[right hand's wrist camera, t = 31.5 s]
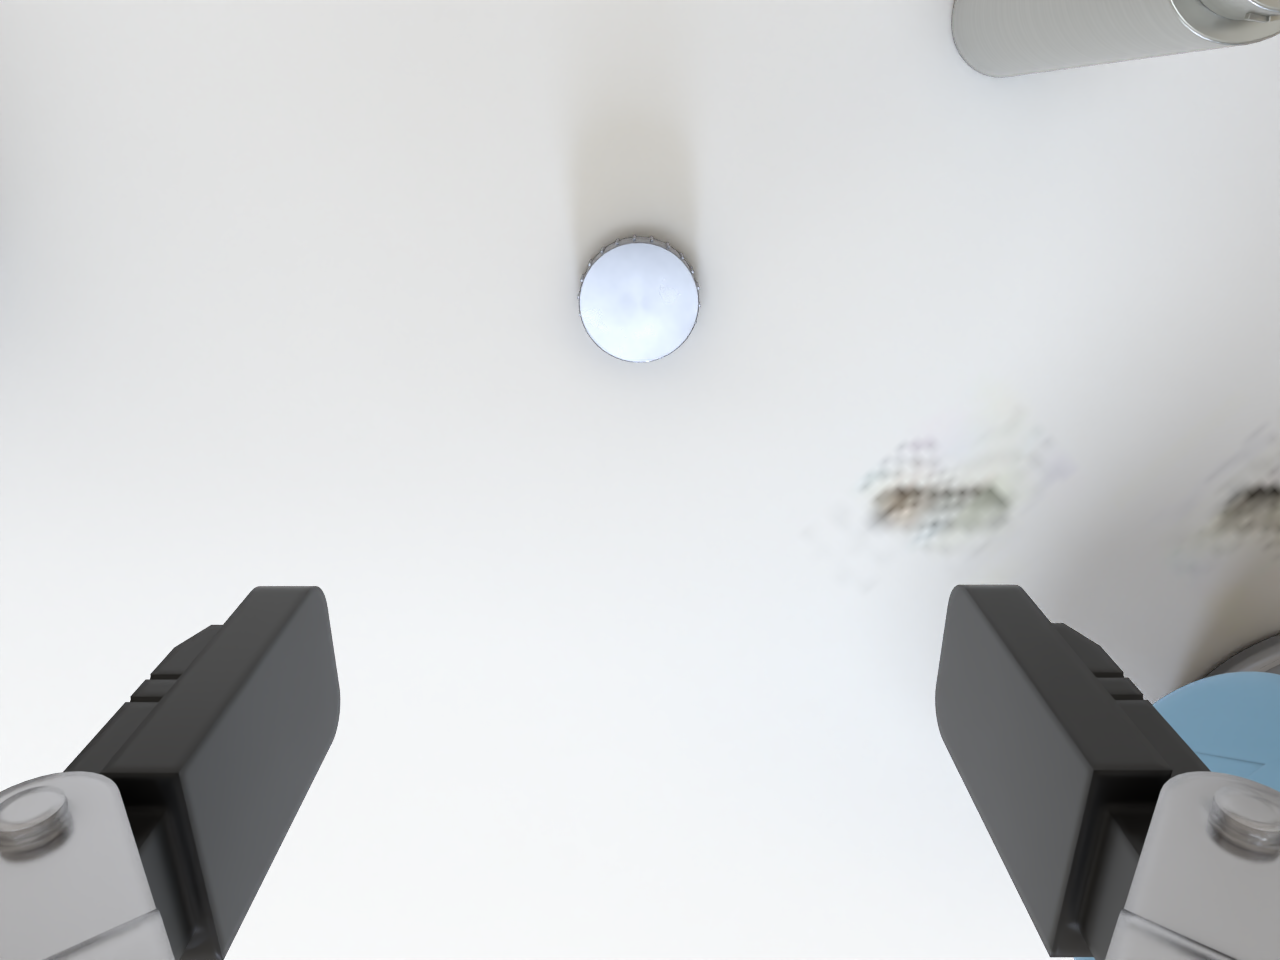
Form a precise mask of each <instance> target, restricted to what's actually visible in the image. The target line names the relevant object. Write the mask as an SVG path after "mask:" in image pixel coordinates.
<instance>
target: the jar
mask: <svg viewBox="0 0 1280 960" xmlns="http://www.w3.org/2000/svg"><path fill="white" fill-rule="evenodd" d="M952 33H953V38H954V42H955V44H956V47H957V49H958V51H959V53H960V55H961V56H962V58H963V59H964V60H965V62H966V63H967V64H968V65H969V66H971V67H972V68H973V69H974V70H976V71H978V72H980V73H982V74H984V75H987V76H992V77H1011V76H1019V75H1026V74H1034V73H1041V72H1048V71H1056V70H1063V69H1071V68H1078V67H1085V66H1093V65H1100V64H1107V63H1115V62H1122V61H1130V60H1137V59H1144V58H1152V57H1159V56H1167V55H1174V54H1181V53H1189V52H1196V51H1204V50H1211V49H1218V48H1226V47H1233V46H1241V45H1247V44H1252V43H1257V42H1260V41H1263V40H1266V39H1269V38H1271V37H1273V36H1276V35H1278V34H1280V0H955V4H954V7H953V13H952Z"/></svg>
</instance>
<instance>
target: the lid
mask: <svg viewBox="0 0 1280 960" xmlns="http://www.w3.org/2000/svg"><path fill="white" fill-rule="evenodd" d="M588 266H589V267H588V269H587V271H586V273H585V275H584V274H583V275H582V278H581V282H582V285H581V288H580V291H579V294H578V298H577V299H579V311H580V312H579V316H581V320H582V322H583V325H584V327H585V331H586V332H587V333H588V335H589V336H590V338H591V339H592V340H593V341H594V343H595V344H596V345H597V346H598V347H600V348H601V349H602V350H603V351H605V352H606V353H608V354H609V355H611V356H613V357H615V358H618V359H621V360H624V361H629V362H649V361H654V360H657V359H660V358H663V357H665V356H667V355H669V354H670V353H672V352H674V351H675V350H676V349H677V348H679V347H680V346H681V345H682V344H683V343H684V341H685V340H686V339H687V338H688V336H689V335H690V333H691V331H692V329H693V328H694V325H695V324H696V322H697V321H696V320H697V316H698V311H699V307H700V302H699V294H698V290H700V289H699V285H698V283H697V282H695V279H694V276H693V273H694V271H693V268H692V266H690V267H689V265H688V264H687V262H686V261H685V259H684V257H683V254H682V253H681V252H680V253H678V252H677V251H676V250H675V249H674V248H672V247H671V246H670V245H669V243H668V242H666V243H664V242H662V241H659V240H656V239H653V236H650V238H648V237H636V235H633V237H631V238H626V239H622V240H619V239H616V242H614V243H612V244H610V245H609V246H607V247H606V248H604V247H602V248H601V251H600V253H599V254H598V255H597V256H596V257H595V258H594V259H593V260H592V259H591V260H590V262H589V264H588Z"/></svg>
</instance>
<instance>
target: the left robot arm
mask: <svg viewBox="0 0 1280 960" xmlns="http://www.w3.org/2000/svg"><path fill="white" fill-rule="evenodd" d="M1153 706H1154V707H1155V709H1156V710H1157V711H1158V712H1159V713H1160V714H1161V715H1162V717H1163V718H1164V719H1165V720H1166V721H1167V722H1168V723H1169V724H1170V726H1171V727H1172V728H1173V729H1174V730H1175V731H1176V732H1177V733H1178V735H1179V736H1180V737H1181V738H1182V739H1183V740H1184V741H1185V742H1186V744H1187V745H1188V746H1189V747H1190V748H1191V749H1192V750H1193V752H1194V753H1195V754H1196V755H1197V756H1198V757H1199V758H1200V759H1201V761H1202V762H1203V763H1204V764H1205V765H1206V766H1207V767H1208V768H1209V770H1210V771H1211V772H1218V773H1225V774H1230V775H1234V776H1239V777H1242V778H1246V779H1249V780H1252V781H1255V782H1258V783H1260V784H1263V785H1265V786H1268V787H1270V788H1272V789H1274V790H1277V791H1279V792H1280V634H1279V635H1276V636H1273V637H1271V638H1269V639H1266V640H1264V641H1261V642H1259V643H1257V644H1255V645H1253V646H1251V647H1249V648H1247V649H1245V650H1243V651H1241V652H1240V653H1238V654H1236V655H1235V656H1233V657H1231V658H1230V659H1228V660H1227V661H1225V662H1224V663H1222V664H1221V665H1220V666H1218V667H1217V668H1215V669H1214V670H1213V671H1212V672H1210V673H1209V674H1208V675H1207V676H1205V677H1204V678H1203V679H1200V680H1198V681H1195V682H1192V683H1190V684H1187V685H1185V686H1183V687H1181V688H1179V689H1177V690H1175V691H1173V692H1171V693H1170V694H1168V695H1166V696H1165V697H1163V698H1161V699H1160V700H1158V701H1157V702H1155V703H1154V704H1153ZM1074 960H1095V958H1094V957H1074Z"/></svg>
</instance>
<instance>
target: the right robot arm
mask: <svg viewBox="0 0 1280 960" xmlns="http://www.w3.org/2000/svg"><path fill="white" fill-rule="evenodd" d="M935 705H936V716H937V722H938V726H939V730H940V734H941V737H942V739H943V741H944V743H945V745H946V747H947V749H948V751H949V753H950V755H951V757H952V759H953V761H954V764H955V766H956V768H957V770H958V772H959V774H960V776H961V778H962V780H963V782H964V784H965V786H966V788H967V790H968V792H969V794H970V796H971V798H972V800H973V802H974V804H975V806H976V808H977V810H978V812H979V814H980V816H981V818H982V820H983V822H984V824H985V826H986V828H987V830H988V832H989V834H990V836H991V838H992V840H993V842H994V844H995V847H996V849H997V851H998V853H999V855H1000V857H1001V859H1002V861H1003V863H1004V865H1005V867H1006V869H1007V871H1008V873H1009V875H1010V877H1011V879H1012V881H1013V883H1014V885H1015V887H1016V889H1017V891H1018V893H1019V895H1020V897H1021V899H1022V901H1023V903H1024V905H1025V907H1026V909H1027V911H1028V913H1029V915H1030V917H1031V919H1032V921H1033V923H1034V925H1035V927H1036V930H1037V932H1038V934H1039V936H1040V938H1041V940H1042V942H1043V944H1044V946H1045V948H1046V950H1047V952H1048V954H1049V956H1050V957H1094V958H1095V960H1280V792H1279V791H1277V790H1274V789H1272V788H1270V787H1268V786H1265V785H1263V784H1260V783H1258V782H1255V781H1252V780H1249V779H1246V778H1242V777H1239V776H1234V775H1230V774H1225V773H1218V772H1211V771H1210V770H1209V768H1208V767H1207V766H1206V765H1205V764H1204V763H1203V762H1202V761H1201V759H1200V758H1199V757H1198V756H1197V755H1196V754H1195V753H1194V752H1193V750H1192V749H1191V748H1190V747H1189V746H1188V745H1187V744H1186V742H1185V741H1184V740H1183V739H1182V738H1181V737H1180V736H1179V735H1178V733H1177V732H1176V731H1175V730H1174V729H1173V728H1172V727H1171V726H1170V724H1169V723H1168V722H1167V721H1166V720H1165V719H1164V718H1163V717H1162V715H1161V714H1160V713H1159V712H1158V711H1157V710H1156V709H1155V707H1154V706H1153V705H1152V704H1151V703H1150V702H1149V701H1148V700H1143V694H1142V693H1141V692H1140V691H1139V689H1138V688H1137V687H1136V686H1135V685H1134V684H1133V683H1132V682H1131V680H1130V679H1129V678H1124V676H1123V671H1122V670H1121V669H1120V668H1119V667H1118V666H1117V665H1116V663H1115V662H1114V661H1113V660H1112V659H1111V658H1110V657H1109V656H1108V654H1107V653H1106V652H1105V651H1104V650H1103V649H1102V648H1101V647H1100V646H1099V645H1098V644H1096V643H1094V642H1093V641H1091V640H1089V639H1088V638H1086V637H1085V636H1083V635H1081V634H1080V633H1078V632H1077V631H1075V630H1073V629H1072V628H1070V627H1068V626H1067V625H1065V624H1064V623H1051V622H1050V621H1049V620H1048V619H1047V618H1046V616H1045V615H1044V614H1043V613H1042V611H1041V610H1040V609H1039V608H1038V607H1037V605H1036V604H1035V603H1034V602H1033V601H1032V599H1031V598H1030V597H1029V596H1028V595H1027V593H1026V592H1025V591H1024V590H1023V589H1022V588H1021V587H1020V586H1018V585H957V586H956V587H954V589H953V590H952V592H951V595H950V598H949V602H948V608H947V615H946V622H945V629H944V635H943V642H942V649H941V656H940V663H939V670H938V677H937V684H936V693H935ZM339 713H340V689H339V682H338V675H337V668H336V662H335V655H334V648H333V641H332V634H331V628H330V621H329V614H328V607H327V602H326V598H325V595H324V593H323V591H322V590H321V589H320V588H319V587H317V586H259V587H256V588H254V589H253V590H252V591H251V592H250V593H249V595H248V596H247V597H246V598H245V599H244V600H243V602H242V603H241V604H240V605H239V606H238V608H237V609H236V610H235V611H234V612H233V614H232V615H231V616H230V617H229V618H228V620H227V621H226V622H225V623H224V624H223V625H210V626H209V627H207V628H206V629H204V630H202V631H201V632H199V633H197V634H196V635H194V636H193V637H191V638H189V639H188V640H186V641H184V642H183V643H181V644H179V645H178V646H176V647H175V648H174V649H173V650H172V651H171V652H170V653H169V654H168V655H167V656H166V658H165V659H164V660H163V661H162V662H161V663H160V664H159V665H158V666H157V668H156V669H155V670H154V671H153V672H152V673H151V678H150V680H145V681H144V682H143V683H142V684H141V685H140V687H139V688H138V689H137V690H136V691H135V692H134V693H133V694H132V696H131V701H130V702H125V703H124V705H123V706H122V707H121V708H120V709H119V710H118V711H117V712H116V713H115V715H114V716H113V717H112V718H111V719H110V720H109V721H108V722H107V724H106V725H105V726H104V727H103V728H102V729H101V730H100V731H99V732H98V734H97V735H96V736H95V737H94V738H93V739H92V740H91V741H90V743H89V744H88V745H87V746H86V747H85V748H84V749H83V750H82V751H81V753H80V754H79V755H78V756H77V757H76V758H75V759H74V760H73V762H72V763H71V764H70V765H69V766H68V767H67V768H66V769H65V771H64V772H62V773H55V774H50V775H46V776H41V777H38V778H34V779H31V780H28V781H25V782H22V783H20V784H17V785H15V786H12V787H10V788H8V789H6V790H3V791H1V792H0V960H224V958H225V956H226V954H227V952H228V950H229V948H230V946H231V944H232V942H233V940H234V938H235V936H236V934H237V932H238V930H239V928H240V926H241V924H242V922H243V920H244V918H245V916H246V914H247V912H248V910H249V908H250V906H251V904H252V902H253V900H254V898H255V896H256V894H257V892H258V890H259V888H260V886H261V884H262V882H263V880H264V878H265V876H266V874H267V872H268V870H269V868H270V866H271V864H272V862H273V860H274V858H275V856H276V854H277V852H278V850H279V848H280V846H281V844H282V842H283V840H284V838H285V836H286V834H287V832H288V830H289V828H290V826H291V824H292V822H293V820H294V818H295V816H296V814H297V812H298V810H299V808H300V806H301V804H302V802H303V800H304V798H305V796H306V794H307V792H308V790H309V788H310V786H311V784H312V782H313V780H314V778H315V776H316V774H317V772H318V770H319V768H320V766H321V764H322V762H323V760H324V758H325V756H326V754H327V752H328V750H329V748H330V746H331V744H332V742H333V739H334V737H335V734H336V730H337V726H338V721H339Z"/></svg>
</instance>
